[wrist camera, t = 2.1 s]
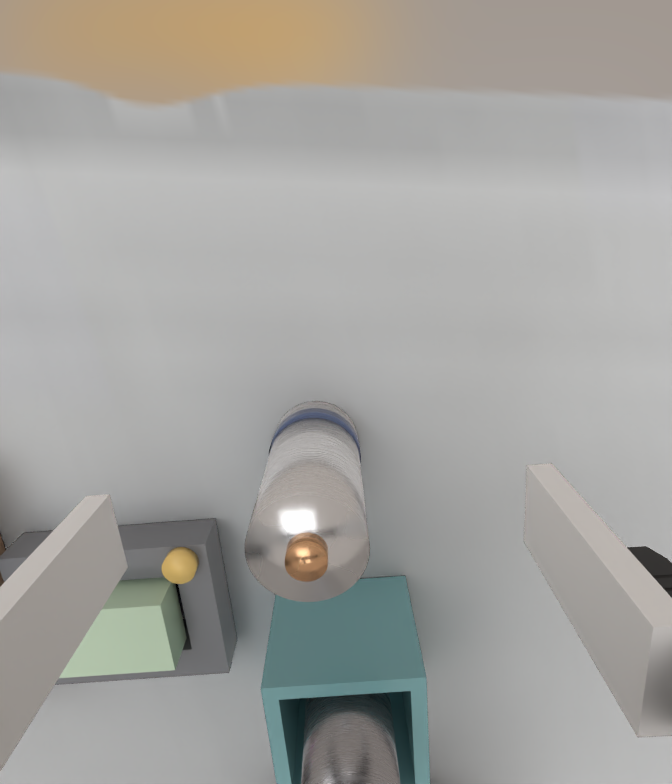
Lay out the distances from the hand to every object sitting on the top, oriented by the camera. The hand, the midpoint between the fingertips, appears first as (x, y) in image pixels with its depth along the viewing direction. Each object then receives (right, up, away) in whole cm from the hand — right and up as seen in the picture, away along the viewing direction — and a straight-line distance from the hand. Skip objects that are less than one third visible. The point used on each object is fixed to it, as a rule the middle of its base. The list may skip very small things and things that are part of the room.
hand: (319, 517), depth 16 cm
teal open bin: (+1, -8, +9) cm, 12 cm away
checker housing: (-9, -6, +8) cm, 14 cm away
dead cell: (+1, -8, +9) cm, 12 cm away
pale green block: (-9, -6, +7) cm, 13 cm away
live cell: (0, +2, +6) cm, 7 cm away
